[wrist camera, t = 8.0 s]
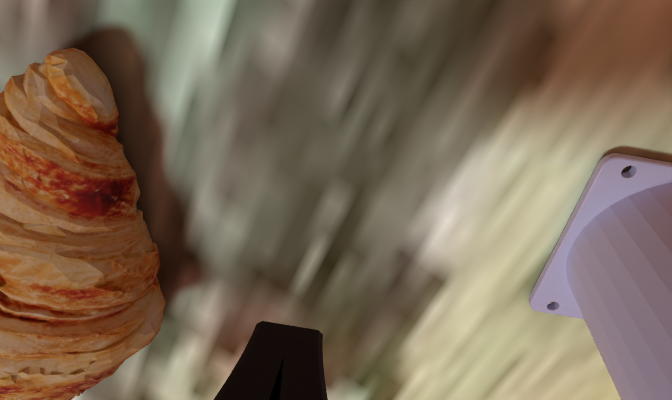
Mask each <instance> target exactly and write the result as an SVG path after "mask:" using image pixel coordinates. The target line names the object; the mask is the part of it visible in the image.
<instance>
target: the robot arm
mask: <svg viewBox="0 0 672 400" xmlns="http://www.w3.org/2000/svg"><path fill="white" fill-rule="evenodd" d="M627 166H632V168H631V169H630V170H629V171H627V172H625V173H621V172H622V170H623V169H624V168H625V167H627ZM551 302H555V303H552V304H549V303H551ZM529 303H530V306H531V308H532V309H533V310H535V311H539V312H545V313H551V314H557V315H563V316H569V317H575V318H581V319H584V320H585V322H586V324H587V326H588V328H589V330H590V333H591V335H592V337H593V339H594V341H595V343H596V346H597V348H598V350H599V352H600V354H601V356H602V359H603V361H604V363H605V365H606V367H607V370H608V372H609V374H610V376H611V378H612V380H613V383H614V385H615V387H616V389H617V391H618V393H619V396H620V398H621V400H672V163H671V162H665V161H660V160H654V159H648V158H642V157H637V156H631V155H625V154H619V153H612V154H609V155H606V156H605V157H603V158H602V159H601V160H600V162H599V163H598V165H597V167H596V169H595V171H594V173H593V175H592V177H591V179H590V180H589V182H588V184H587V186H586V188H585V190H584V192H583V194H582V196H581V198H580V200H579V202H578V204H577V206H576V207H575V209H574V211H573V213H572V215H571V217H570V219H569V221H568V223H567V225H566V227H565V229H564V231H563V233H562V234H561V236H560V238H559V240H558V242H557V244H556V246H555V248H554V250H553V252H552V254H551V256H550V258H549V260H548V261H547V263H546V265H545V267H544V269H543V271H542V273H541V275H540V277H539V279H538V281H537V283H536V285H535V287H534V288H533V290H532V292H531V294H530V296H529ZM322 340H323V335H322V334H321V332H320V331H319V330H314V329H308V328H302V327H296V326H289V325H283V324H277V323H271V322H265V321H262V322H259V323H257V325H256V327H255V329H254V332H253V334H252V336H251V338H250V340H249V342H248V344H247V346H246V348H245V350H244V352H243V354H242V355H241V357H240V359H239V361H238V362H237V364H236V366H235V367H234V369H233V371H232V372H231V374H230V376H229V377H228V379H227V380H226V382H225V383H224V385H223V386H222V388H221V389H220V391H219V392H218V394H217V396H216V397H215V399H214V400H328V399H327V393H326V385H325V377H324V368H323V352H322Z"/></svg>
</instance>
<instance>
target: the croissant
mask: <svg viewBox="0 0 672 400" xmlns="http://www.w3.org/2000/svg"><path fill="white" fill-rule="evenodd" d="M118 121H119V113H118V110H117V106H116V103H115V100H114V96H113V92H112V89H111V86H110V84H109V81H108V79H107V77H106V75H105V74H104V73H103V72H102V71H101V69H100V68H99V67H98V66H97V65H96V63H95V62H94V61H93V59H92V58H91V57H89V56H88V55H87V54H86V53H85V52H83V51H81V50H78V49H76V48H69V49H63V50H57V51H53V52H52V53H50V54H48V55H47V56H46V57H45V61H44V63H42V64H39V63H33V64H31V65H29V66H28V68H27V70H26V72H25V74H22V75H17V76H12V77H11V78H10V80H9V81H8V82H7V84H6V85H5V89H4V91H3V92H2V93H1V94H0V400H71V399H72V398H74V397H75V396H79V395H80V393H83V392H84V391H85V390H86V389H89V388H91V387H92V386H94V385H96V384H97V383H99V382H100V381H101V380H103V379H104V378H106V377H109V376H111V375H113V374H114V372H115V371H116V370H117V369H118V367H119V366H120V365H121V364H122V363H123V362H124V361H125V360H126V359H127V358H129V357H130V356H132V355H133V354H135V353H136V352H138V351H139V350H140V349H142V348H143V347H145V346H146V345H148V344H149V343H150V342H151V341H152V340H153V339H154V337H155V336H156V334H157V333H158V332H159V330H160V328H161V323H162V319H163V311H164V308H165V304H166V301H165V299H164V297H163V294H162V292H161V290H160V285H159V282H158V278H157V275H158V273H159V271H160V260H159V250H158V247H157V244H156V243H153V242H152V240H151V237H150V234H149V232H148V229H147V225H146V223H145V221H144V219H143V212H142V211H140V210H138V209H137V208H136V202H137V200H138V198H139V196H140V189H139V186H138V183H137V180H136V173H135V171H134V170H133V169H132V168H131V166H130V164H129V162H128V161H127V159H126V158H125V155H124V152H123V145H121V144H120V143H119V142H118V141H116V134H117V133H118V131H119V130H118V126H117V123H118Z"/></svg>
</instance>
